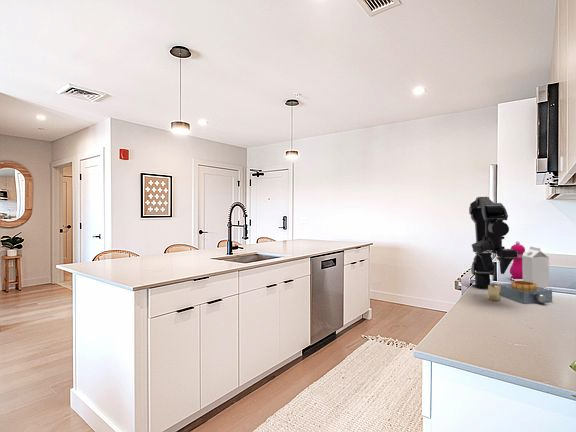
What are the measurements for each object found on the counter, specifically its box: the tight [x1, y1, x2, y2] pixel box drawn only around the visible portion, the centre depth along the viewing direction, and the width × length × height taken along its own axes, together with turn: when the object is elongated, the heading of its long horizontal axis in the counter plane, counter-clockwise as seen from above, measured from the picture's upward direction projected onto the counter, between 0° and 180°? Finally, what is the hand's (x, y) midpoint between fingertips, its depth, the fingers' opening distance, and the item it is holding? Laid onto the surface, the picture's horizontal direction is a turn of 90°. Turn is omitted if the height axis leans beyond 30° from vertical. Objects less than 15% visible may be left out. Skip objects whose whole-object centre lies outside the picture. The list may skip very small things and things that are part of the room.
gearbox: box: [497, 280, 553, 305], centre depth 135 cm, size 17×12×6 cm
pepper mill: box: [509, 240, 526, 279], centre depth 166 cm, size 7×7×20 cm
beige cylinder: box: [487, 282, 502, 302], centre depth 135 cm, size 4×4×7 cm
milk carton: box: [522, 246, 550, 288], centre depth 150 cm, size 7×7×19 cm
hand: (494, 271), depth 135 cm, fingers open, 9 cm apart
